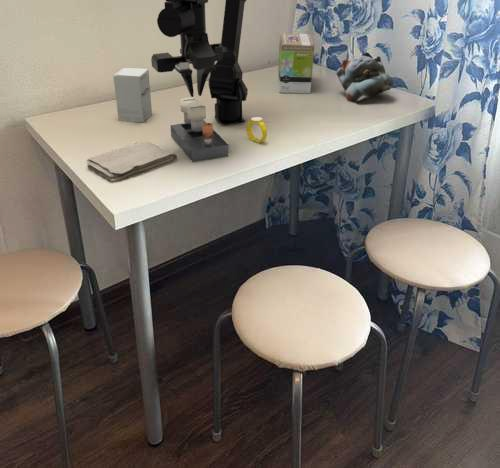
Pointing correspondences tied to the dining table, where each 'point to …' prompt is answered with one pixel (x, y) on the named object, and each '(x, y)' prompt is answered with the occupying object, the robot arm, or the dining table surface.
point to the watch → (263, 127)
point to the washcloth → (130, 161)
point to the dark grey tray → (198, 143)
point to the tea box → (295, 63)
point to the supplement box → (133, 94)
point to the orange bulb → (207, 133)
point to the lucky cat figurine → (363, 77)
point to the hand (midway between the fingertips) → (195, 95)
